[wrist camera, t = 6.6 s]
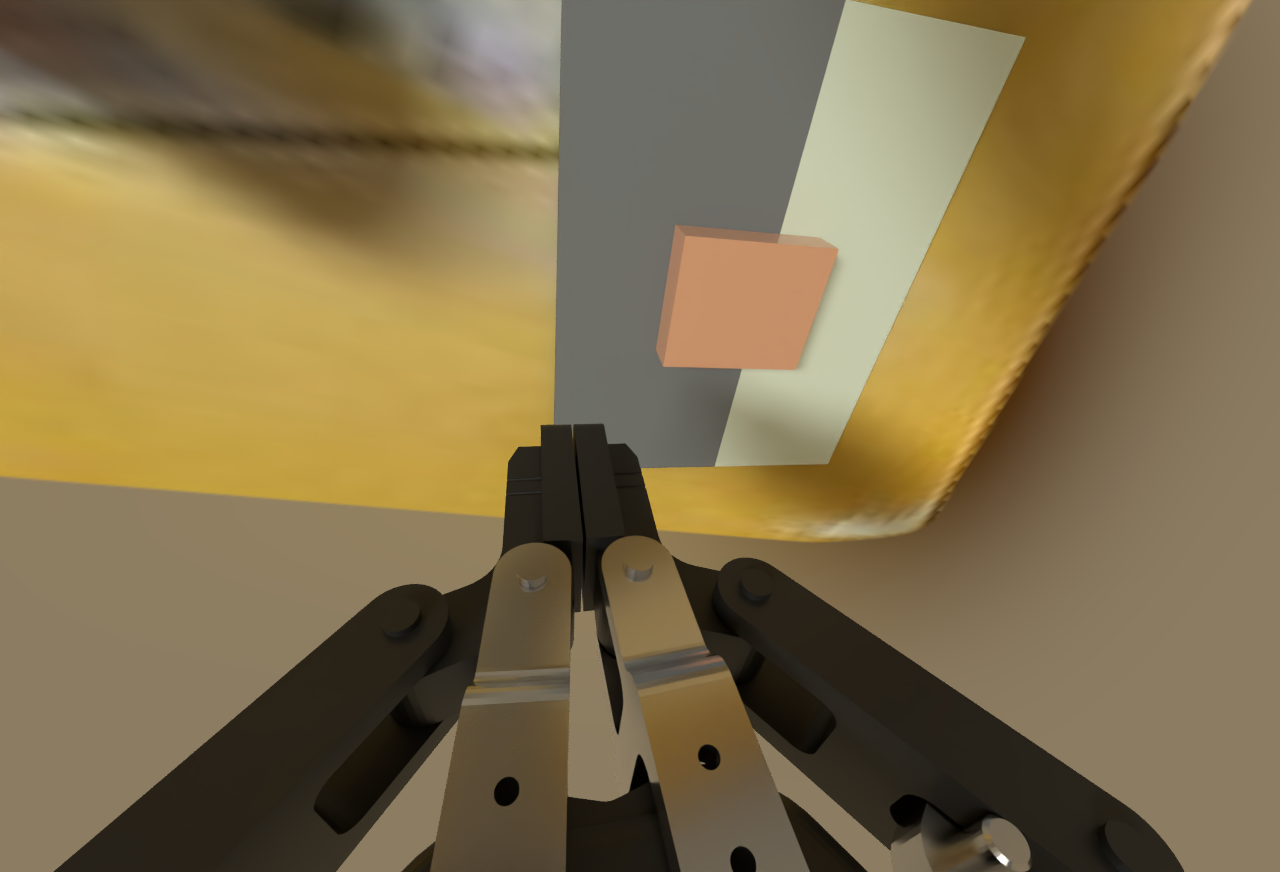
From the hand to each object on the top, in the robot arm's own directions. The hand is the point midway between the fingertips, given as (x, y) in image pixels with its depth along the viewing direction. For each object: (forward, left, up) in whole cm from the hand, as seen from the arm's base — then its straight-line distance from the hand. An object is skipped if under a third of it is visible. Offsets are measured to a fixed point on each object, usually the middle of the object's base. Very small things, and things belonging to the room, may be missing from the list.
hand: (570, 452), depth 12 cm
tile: (0, +9, -11) cm, 14 cm away
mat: (0, +9, -13) cm, 16 cm away
